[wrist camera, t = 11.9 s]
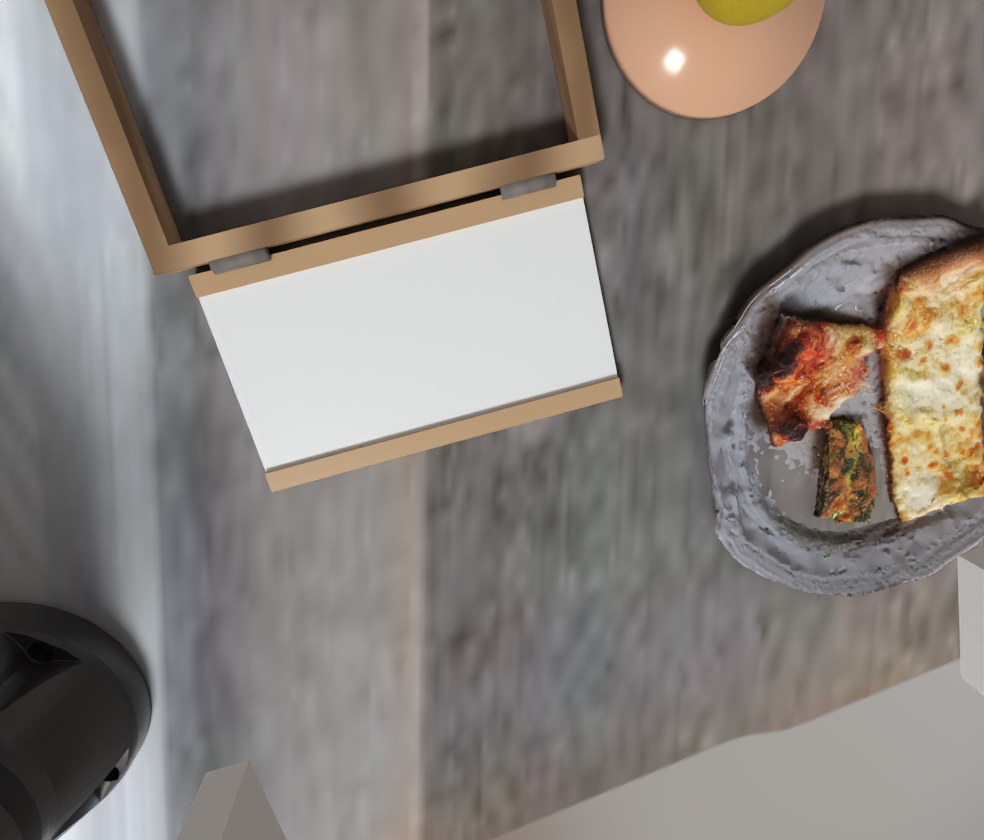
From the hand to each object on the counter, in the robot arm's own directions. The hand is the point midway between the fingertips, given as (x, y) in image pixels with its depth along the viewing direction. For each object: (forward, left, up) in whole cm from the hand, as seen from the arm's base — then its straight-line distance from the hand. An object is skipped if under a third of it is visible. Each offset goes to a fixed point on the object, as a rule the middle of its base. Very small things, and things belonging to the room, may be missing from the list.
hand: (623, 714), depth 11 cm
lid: (-3, +4, -27) cm, 27 cm away
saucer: (+17, +18, -27) cm, 36 cm away
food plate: (+24, -8, -27) cm, 37 cm away
